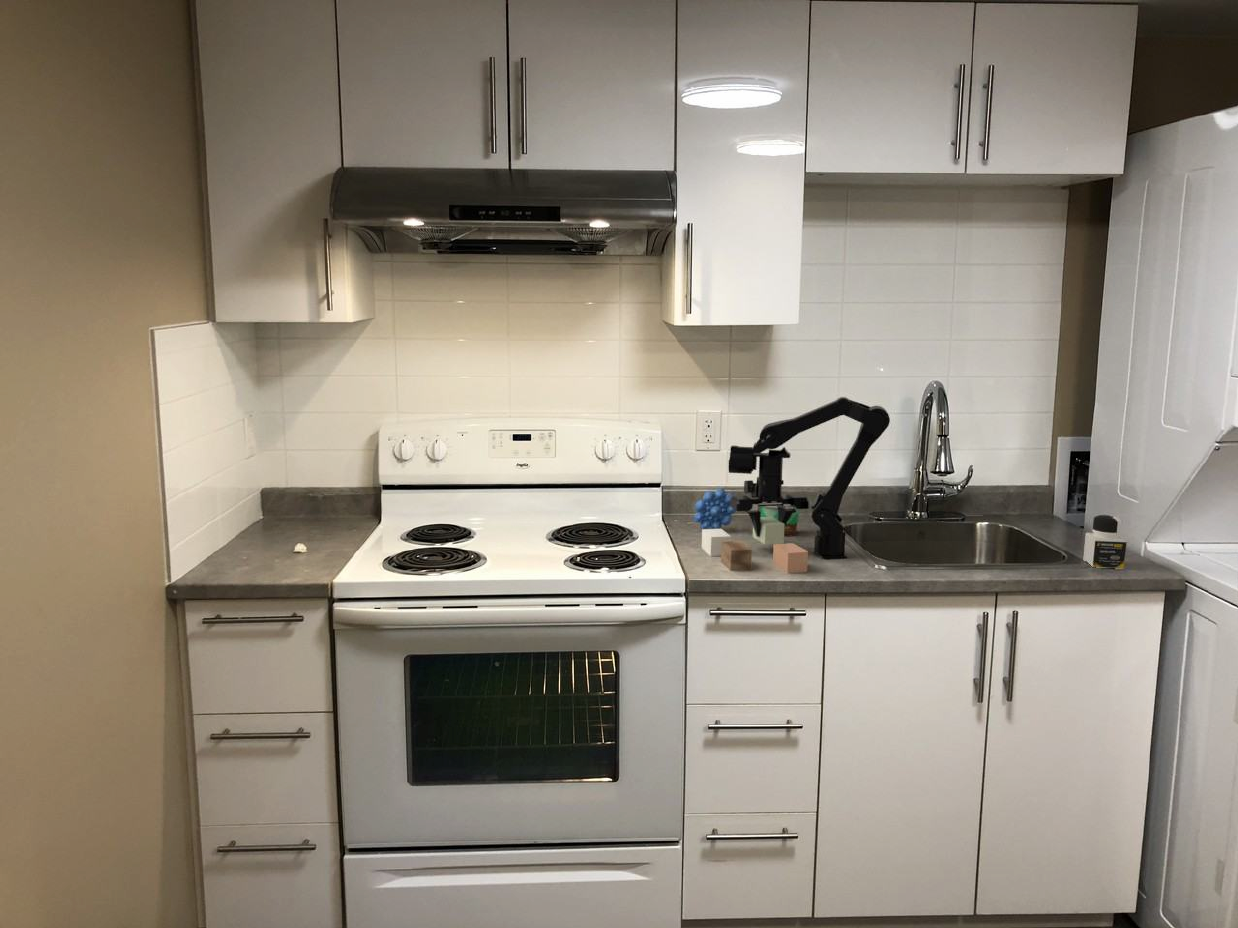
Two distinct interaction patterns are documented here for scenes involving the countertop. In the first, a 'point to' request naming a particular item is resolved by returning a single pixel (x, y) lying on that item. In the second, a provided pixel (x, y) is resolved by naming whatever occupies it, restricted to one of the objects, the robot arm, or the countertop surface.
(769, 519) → the sage brick
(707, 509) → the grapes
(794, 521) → the food container
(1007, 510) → the countertop surface
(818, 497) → the robot arm
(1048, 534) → the countertop surface
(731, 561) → the walnut brick
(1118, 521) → the medicine bottle
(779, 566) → the terracotta brick
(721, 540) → the off-white brick
